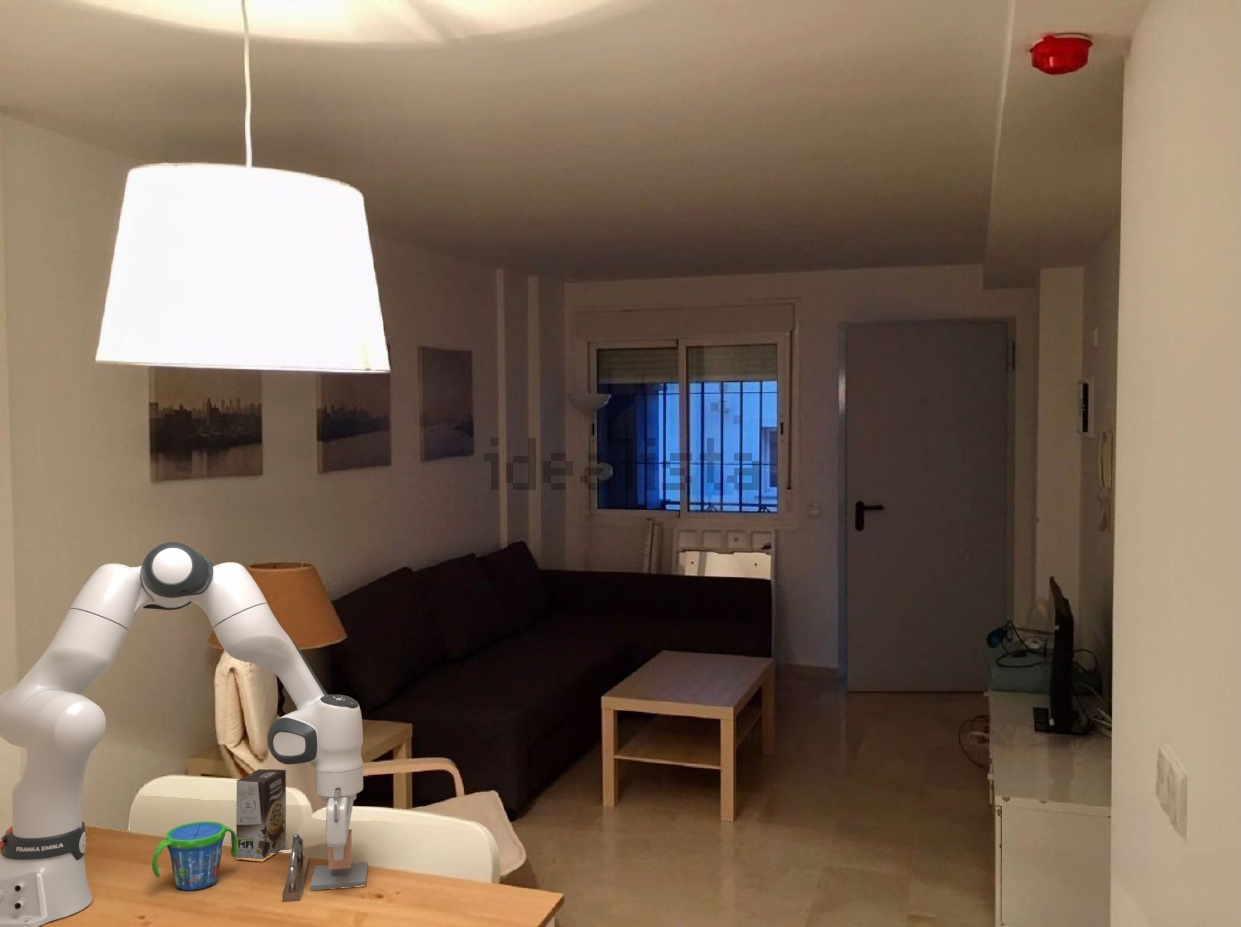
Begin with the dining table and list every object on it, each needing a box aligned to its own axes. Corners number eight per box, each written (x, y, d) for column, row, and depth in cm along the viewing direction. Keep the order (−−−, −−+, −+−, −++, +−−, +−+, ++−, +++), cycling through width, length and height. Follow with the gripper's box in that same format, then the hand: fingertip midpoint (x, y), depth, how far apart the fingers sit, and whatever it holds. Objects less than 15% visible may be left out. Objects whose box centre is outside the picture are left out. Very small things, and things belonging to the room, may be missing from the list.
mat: (310, 891, 199) (310, 885, 199) (315, 871, 208) (315, 866, 208) (365, 887, 201) (365, 881, 201) (367, 867, 210) (367, 862, 210)
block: (328, 869, 202) (328, 838, 202) (330, 861, 206) (330, 830, 206) (350, 868, 203) (350, 836, 203) (351, 860, 207) (351, 829, 207)
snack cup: (159, 903, 194) (159, 847, 194) (145, 885, 202) (145, 831, 202) (246, 883, 203) (246, 829, 203) (230, 866, 211) (230, 814, 211)
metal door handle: (282, 902, 194) (282, 851, 194) (293, 865, 212) (293, 819, 212) (299, 900, 194) (299, 850, 194) (309, 864, 212) (308, 818, 212)
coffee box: (264, 863, 213) (264, 782, 213) (235, 860, 214) (234, 780, 214) (287, 847, 222) (287, 769, 222) (259, 845, 223) (258, 767, 223)
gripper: (353, 797, 195) (353, 873, 195) (358, 766, 215) (359, 834, 215) (317, 799, 194) (318, 875, 194) (326, 767, 214) (326, 837, 214)
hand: (339, 854), depth 205 cm, fingers closed on block, 4 cm apart
